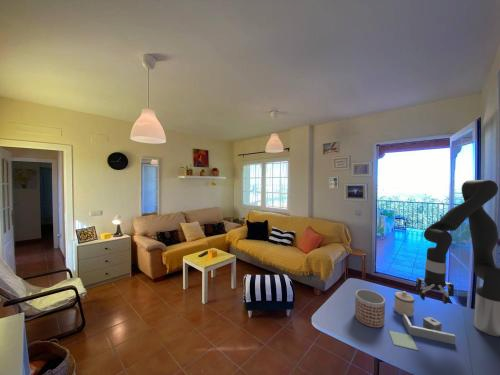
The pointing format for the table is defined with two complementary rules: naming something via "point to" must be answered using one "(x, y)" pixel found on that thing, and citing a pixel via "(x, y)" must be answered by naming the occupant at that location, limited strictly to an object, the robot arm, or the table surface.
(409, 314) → the teacup with lid
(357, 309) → the planter
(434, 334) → the pen walls
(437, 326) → the dice cube
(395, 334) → the mat
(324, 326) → the table surface
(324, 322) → the table surface
